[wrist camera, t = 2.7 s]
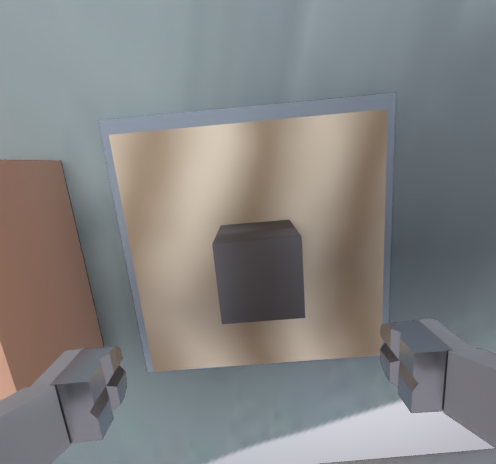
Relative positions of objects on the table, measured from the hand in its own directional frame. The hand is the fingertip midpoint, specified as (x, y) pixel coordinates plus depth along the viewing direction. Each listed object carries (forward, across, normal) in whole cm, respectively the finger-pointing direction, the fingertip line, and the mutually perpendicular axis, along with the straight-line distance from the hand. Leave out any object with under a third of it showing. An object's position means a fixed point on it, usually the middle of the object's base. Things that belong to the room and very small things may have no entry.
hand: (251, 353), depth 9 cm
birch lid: (+10, -1, 0) cm, 10 cm away
